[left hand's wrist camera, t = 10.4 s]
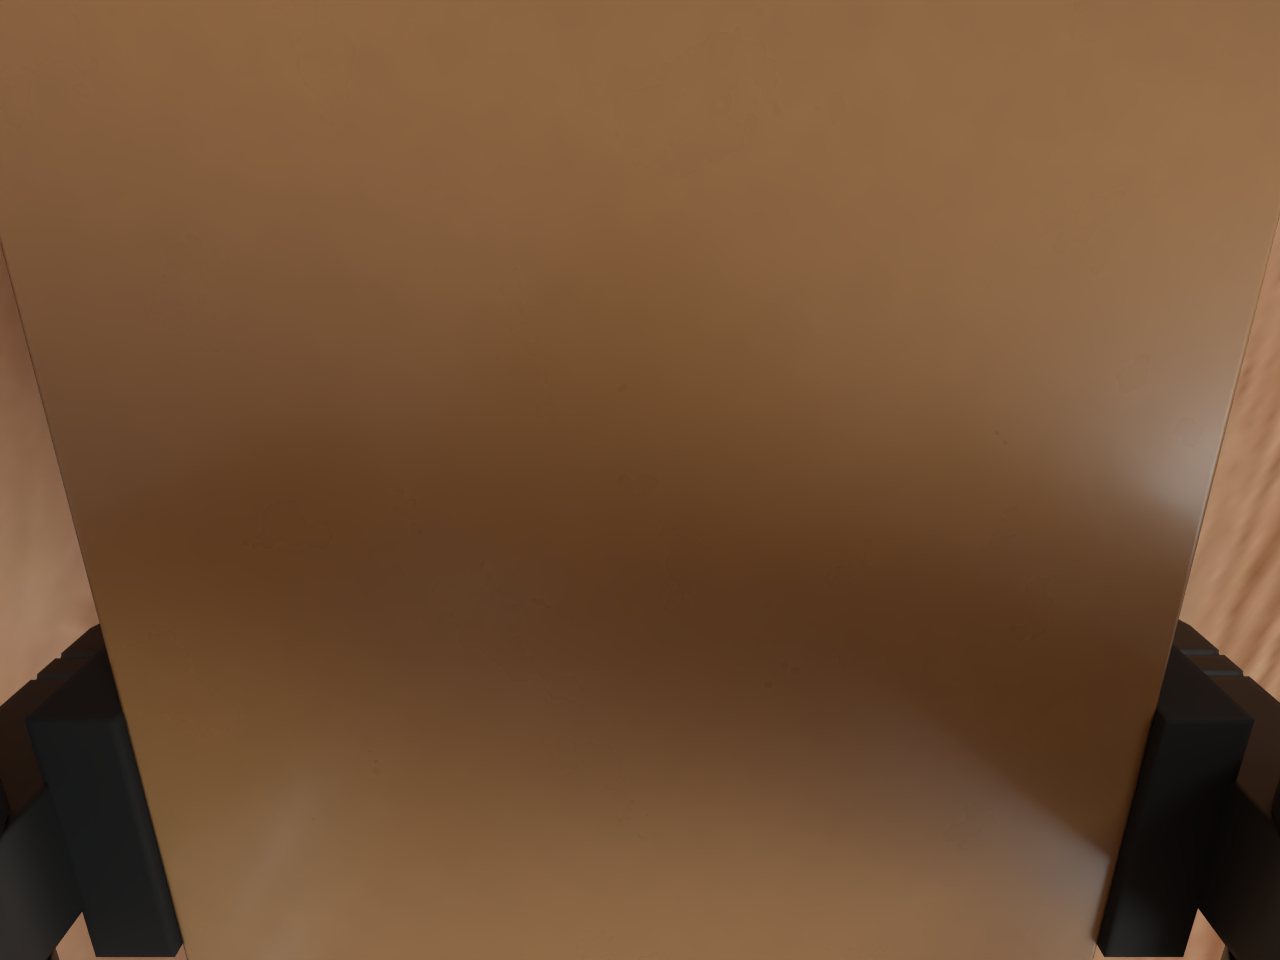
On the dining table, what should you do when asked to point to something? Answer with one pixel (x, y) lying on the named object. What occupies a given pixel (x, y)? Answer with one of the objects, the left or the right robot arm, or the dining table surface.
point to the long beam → (638, 450)
